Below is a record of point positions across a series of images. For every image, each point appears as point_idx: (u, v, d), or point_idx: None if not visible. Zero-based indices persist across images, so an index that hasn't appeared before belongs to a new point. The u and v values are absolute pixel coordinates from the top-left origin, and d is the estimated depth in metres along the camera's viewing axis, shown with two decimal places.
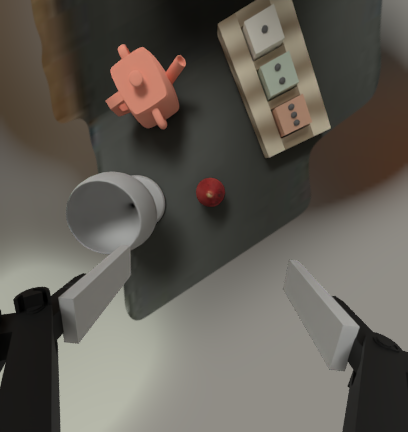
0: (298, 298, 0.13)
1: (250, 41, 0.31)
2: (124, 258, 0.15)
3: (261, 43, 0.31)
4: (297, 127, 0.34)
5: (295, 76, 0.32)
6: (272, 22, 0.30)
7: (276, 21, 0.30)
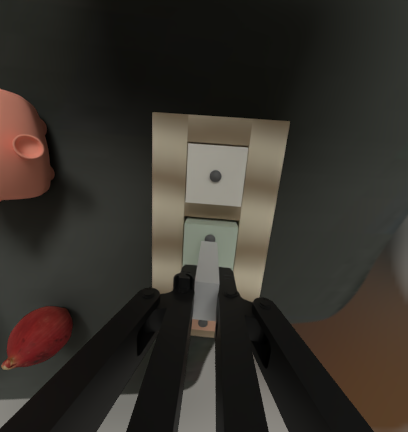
0: None
1: (187, 177, 0.17)
2: None
3: (201, 192, 0.17)
4: (201, 328, 0.21)
5: (230, 265, 0.19)
6: (232, 173, 0.16)
7: (239, 175, 0.16)
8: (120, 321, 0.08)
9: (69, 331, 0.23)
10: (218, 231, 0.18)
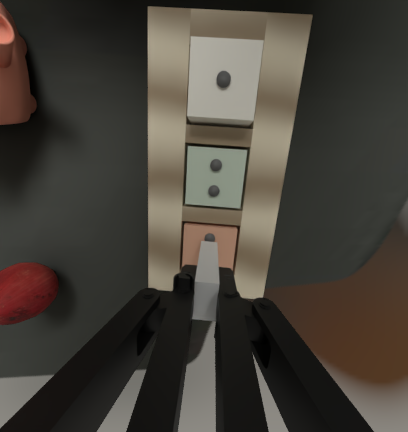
0: None
1: (189, 85, 0.14)
2: None
3: (206, 102, 0.14)
4: None
5: (238, 197, 0.17)
6: (243, 75, 0.13)
7: (252, 79, 0.13)
8: (120, 321, 0.08)
9: (54, 290, 0.21)
10: (225, 155, 0.16)
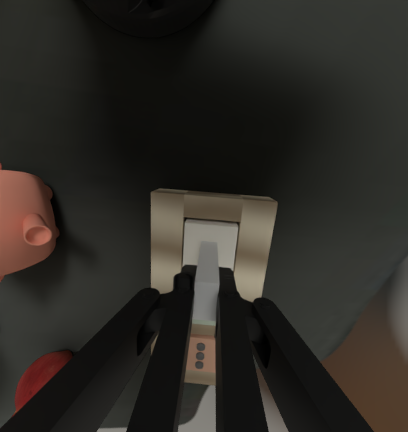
0: None
1: (184, 249, 0.19)
2: None
3: (196, 262, 0.19)
4: (198, 369, 0.23)
5: None
6: (224, 247, 0.18)
7: (230, 250, 0.18)
8: (120, 321, 0.08)
9: None
10: None
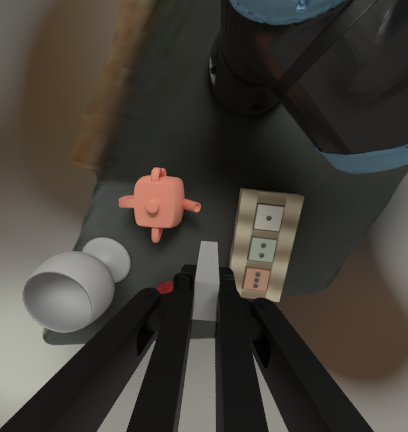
0: None
1: (255, 217, 0.38)
2: None
3: (261, 224, 0.38)
4: (254, 288, 0.42)
5: (271, 258, 0.40)
6: (276, 217, 0.38)
7: (279, 218, 0.38)
8: (120, 321, 0.08)
9: None
10: (267, 242, 0.39)
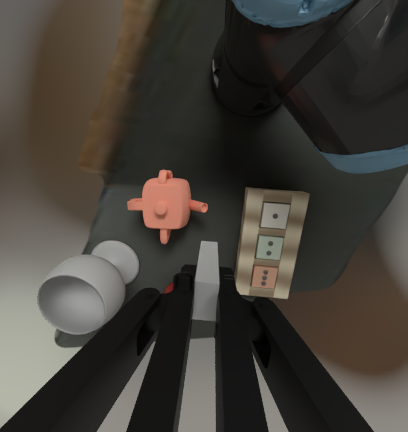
0: None
1: (261, 216, 0.39)
2: None
3: (268, 222, 0.39)
4: (262, 286, 0.42)
5: (279, 255, 0.40)
6: (282, 215, 0.38)
7: (285, 216, 0.38)
8: (120, 321, 0.08)
9: None
10: (274, 239, 0.39)
